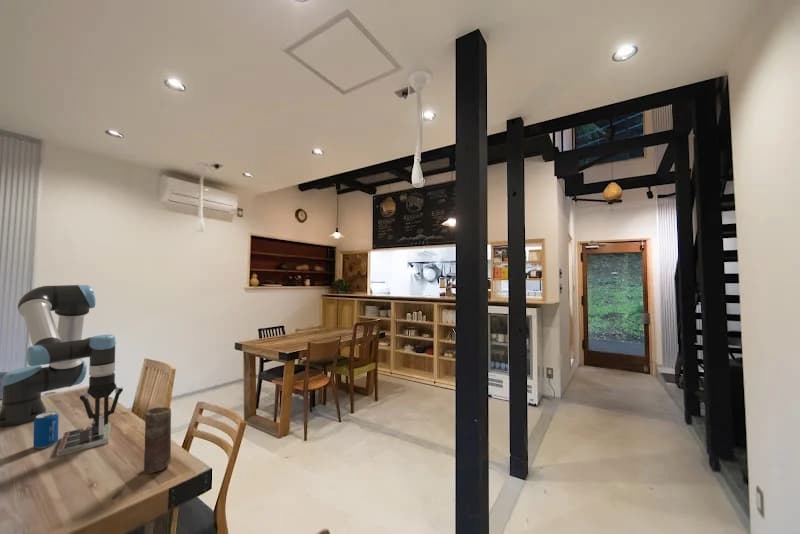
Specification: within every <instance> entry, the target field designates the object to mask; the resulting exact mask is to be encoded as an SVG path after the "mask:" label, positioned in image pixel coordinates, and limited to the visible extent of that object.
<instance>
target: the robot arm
mask: <svg viewBox="0 0 800 534" xmlns="http://www.w3.org/2000/svg"><path fill="white" fill-rule="evenodd" d="M95 306H96V296H95V292H94V289H93V287H92V286H90V285H88V284H70V285H69V284H67V285H66V284H64V285H62V284H61V285H42V286H38V287H35V288H33V289H31V290H29V291H28V292H26V293H25V294H24V295H22V297H21V298H20V299H19V301H18V303H17V310H18V313H19V315H20V316H22V317H23V318H24V321H25V325H26V328H27V332H28V334H29V338H30V342H31V346H28V347H27V350H26V362H27V364H28V366H24V367H20V368H16V369H14V370H10V371H9V372H7V373H5V374H4V375H3V377H2V383H1V386H2V392H1V395H2V396H1V407H0V427H2V428H3V426H5V427H11V426H18V425H23V424H26V423H30V422H32V421H33V422H34V420H35V419H36V416H38V415H40V414H43V413H47V408H46V406H45V404H44V402H43V400H42V393H45V392H49V391H50V392H51V391H54V390H59V389H63V388H71V387H73V386H76V385H79V384H81V383H83V381H85V378H86V375H87V368H88V367H87V363H86V361H84V360H83V359H85V358H89V369H88V370H89V371H88V372H89V374H88V375H89V376H90V377H89V380H88V384H89V385H88V388H87V391H86V392H84V393H82V394H80V395H79V400H80V401H82V402H83V405H84V409H85V411H86V415H87V418H88V419H93V420H94V419H95V427H97V426H99V435H102V434H104V425H106V424H108V422H109V416H111V415H113V414H114V413H115V411H116V408H117V404H118V401H119V397H120V395H121V394H122V393H123V392H124V391H123V390H124V387H122V386H121V387H119V386H117V384H116V374H115V371H116V346H117V345H116V344H117V343H116V336H115V335H113V334H99V335H94V336H91V337H87V338H84V339H82V338H83V329H84V321H85V316H86V315H88V314H89V313H90V309H94V308H95ZM52 312H54V314H55V315H57V316H58V320H57V321H58V322H57V323H58V324H57V326H56V322H55V320H54V317H53V314H52ZM44 365H45V367H43V366H44ZM46 365H48V366H46ZM113 392H114V393H115V395H114V398H113V401H112V405H111V407H110V409H109V400H110V399H109V397H110V395H111V394H112V393H113ZM89 396H90V397H92V398H93V399H94V400H95V401H94V405H95V408H94V412H93V409H92V406H91V404H90V401H89ZM102 398H103V415H102V416H99V415H101V413H100V412H101V411H100V410H101V409H100V408H101V403H100V402H101V399H102Z"/></svg>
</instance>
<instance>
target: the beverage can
mask: <svg viewBox="0 0 800 534" xmlns="http://www.w3.org/2000/svg"><path fill="white" fill-rule="evenodd" d="M59 416H60V415H59V414H58V411H55V410H54V411H46V413H43V414H40V415H38V416H36V419H35V420H33V448H35V449H45V448H49V447H52V446H53V445H55V444H56V443H57V442H58V441H59V419H60V418H59Z"/></svg>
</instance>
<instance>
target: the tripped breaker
mask: <svg viewBox="0 0 800 534" xmlns="http://www.w3.org/2000/svg"><path fill="white" fill-rule="evenodd" d="M90 427H91V426H87V427H83V428H80V429H81V430H80V442H84V441H88V440H89V428H90Z"/></svg>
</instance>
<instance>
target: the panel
mask: <svg viewBox="0 0 800 534" xmlns="http://www.w3.org/2000/svg"><path fill="white" fill-rule="evenodd" d="M89 427H90V428H89V440H88V441H84V442H80V430H81V429H82V428H79V429H75V430H69V431H66V432H64V433H63V435H62V438H61V441H60V443H59V445H58V447H57V451H56V457H61V456H64V455H68V454H72V453H77V452H80V451H83V450H88V449H92V448H96V447H99V446H103V445H107V444H109V441H110V435H111V428H112V421H108V424H106V425H104V434H102V435H99V433H94V434H92V425H91V426H89Z"/></svg>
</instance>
